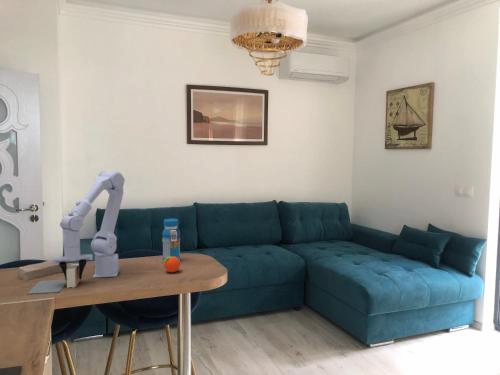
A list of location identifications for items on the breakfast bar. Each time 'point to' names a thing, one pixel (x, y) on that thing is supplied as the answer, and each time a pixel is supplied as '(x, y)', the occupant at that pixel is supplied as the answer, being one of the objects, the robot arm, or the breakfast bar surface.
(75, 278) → the slab
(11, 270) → the breakfast bar surface
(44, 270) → the brick
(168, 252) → the beverage bottle
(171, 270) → the clementine
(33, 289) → the mat
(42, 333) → the breakfast bar surface
